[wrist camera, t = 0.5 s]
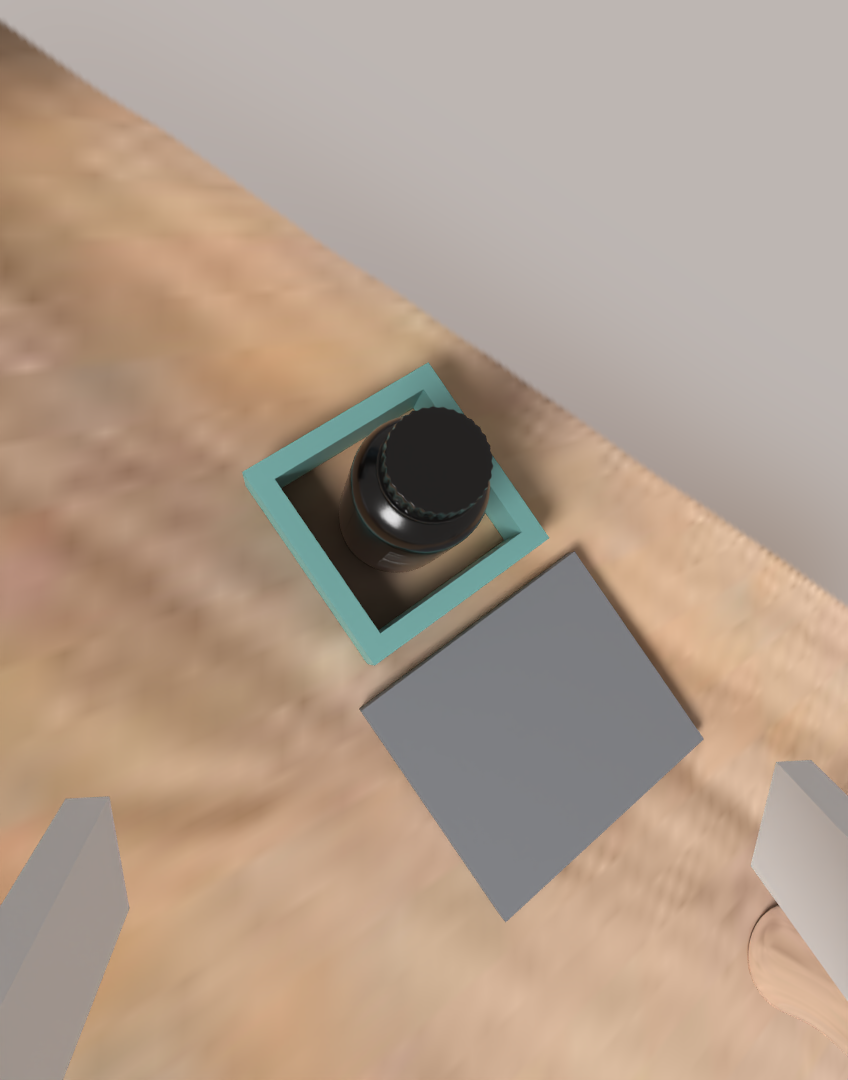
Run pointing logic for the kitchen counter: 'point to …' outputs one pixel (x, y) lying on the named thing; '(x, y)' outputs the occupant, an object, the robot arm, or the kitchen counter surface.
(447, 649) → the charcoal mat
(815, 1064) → the kitchen counter surface
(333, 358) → the kitchen counter surface
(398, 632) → the teal collar
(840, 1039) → the beer glass
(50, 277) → the kitchen counter surface
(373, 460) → the supplement bottle
